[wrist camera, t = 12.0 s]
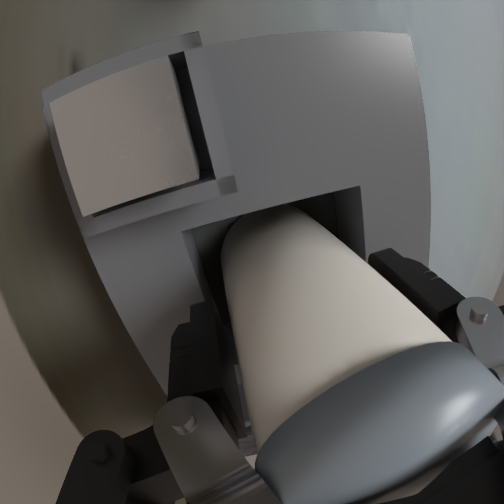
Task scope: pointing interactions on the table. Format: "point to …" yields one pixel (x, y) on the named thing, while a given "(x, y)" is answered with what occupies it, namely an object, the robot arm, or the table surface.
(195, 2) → the table surface
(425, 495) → the robot arm
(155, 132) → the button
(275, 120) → the housing
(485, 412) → the cartridge
